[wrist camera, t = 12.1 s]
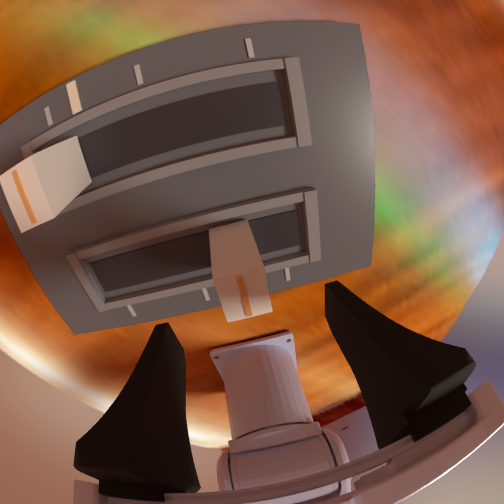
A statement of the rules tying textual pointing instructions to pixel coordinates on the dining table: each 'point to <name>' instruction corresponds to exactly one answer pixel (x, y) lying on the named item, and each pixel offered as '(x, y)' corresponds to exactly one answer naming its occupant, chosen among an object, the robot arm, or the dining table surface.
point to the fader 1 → (45, 183)
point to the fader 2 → (238, 271)
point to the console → (203, 169)
